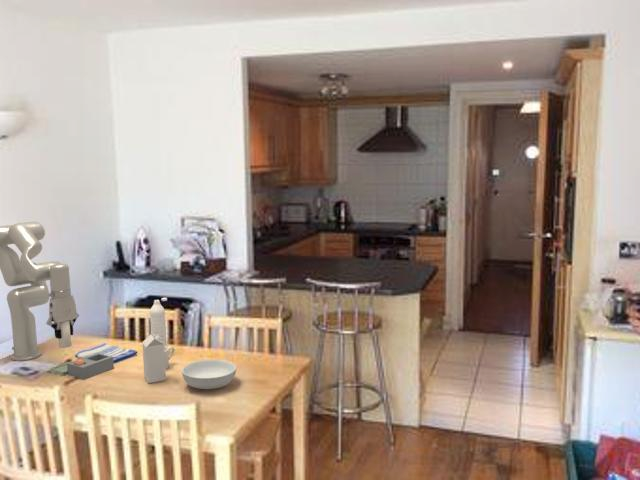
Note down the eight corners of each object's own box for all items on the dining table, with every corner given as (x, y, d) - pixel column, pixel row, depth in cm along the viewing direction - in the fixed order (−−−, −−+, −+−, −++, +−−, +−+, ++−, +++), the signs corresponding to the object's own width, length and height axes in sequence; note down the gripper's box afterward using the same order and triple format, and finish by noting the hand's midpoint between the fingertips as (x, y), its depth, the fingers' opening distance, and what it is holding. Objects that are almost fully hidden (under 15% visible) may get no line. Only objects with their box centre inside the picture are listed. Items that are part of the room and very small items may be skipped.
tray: (50, 372, 251) (50, 368, 251) (69, 365, 258) (69, 361, 258) (63, 375, 246) (63, 372, 246) (82, 369, 254) (82, 365, 253)
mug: (150, 374, 247) (149, 355, 246) (139, 367, 255) (138, 349, 254) (180, 366, 255) (179, 348, 254) (169, 360, 263) (168, 342, 262)
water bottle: (158, 357, 267) (155, 302, 264) (149, 354, 271) (146, 300, 268) (173, 352, 274) (171, 298, 271) (164, 349, 278) (161, 296, 275)
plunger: (74, 369, 246) (74, 360, 245) (81, 367, 248) (80, 358, 248) (79, 370, 244) (78, 361, 243) (85, 368, 247) (85, 359, 246)
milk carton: (148, 383, 236) (145, 337, 234) (144, 378, 243) (141, 332, 240) (166, 380, 240) (163, 334, 237) (162, 375, 246) (159, 330, 243)
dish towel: (105, 347, 284) (105, 341, 284) (139, 355, 271) (139, 349, 271) (73, 358, 270) (72, 352, 269) (107, 367, 257) (107, 361, 257)
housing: (67, 375, 247) (66, 363, 246) (98, 364, 260) (97, 353, 259) (83, 379, 242) (82, 367, 241) (113, 368, 254) (113, 356, 254)
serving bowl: (211, 399, 221) (211, 381, 220) (171, 388, 232) (170, 371, 231) (247, 381, 238) (247, 364, 237) (208, 371, 249) (207, 355, 248)
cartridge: (56, 346, 250) (54, 317, 248) (66, 343, 254) (64, 314, 252) (63, 348, 247) (61, 318, 245) (74, 345, 251) (71, 315, 249)
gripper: (47, 299, 238) (51, 343, 241) (84, 290, 253) (87, 332, 255) (36, 297, 242) (40, 340, 245) (73, 288, 257) (76, 330, 259)
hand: (64, 336), depth 250 cm, fingers closed on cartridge, 4 cm apart
